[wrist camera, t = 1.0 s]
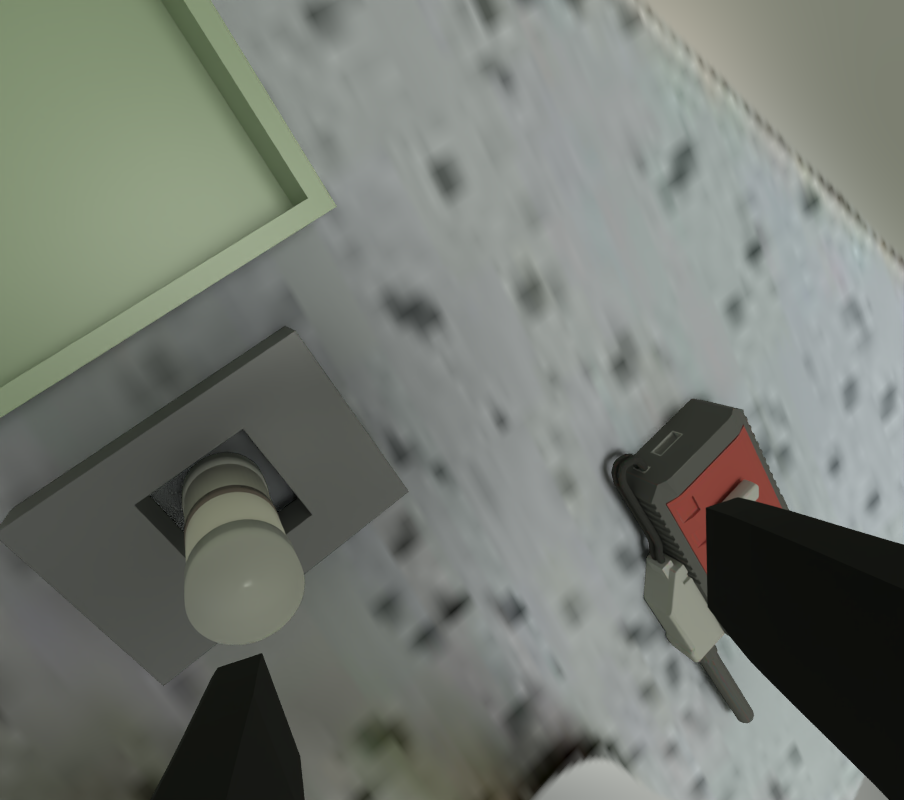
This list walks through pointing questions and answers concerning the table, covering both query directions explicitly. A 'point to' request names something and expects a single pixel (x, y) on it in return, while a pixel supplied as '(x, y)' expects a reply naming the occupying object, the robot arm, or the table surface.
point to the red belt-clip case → (692, 520)
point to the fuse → (236, 553)
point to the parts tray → (128, 175)
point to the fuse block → (172, 451)
